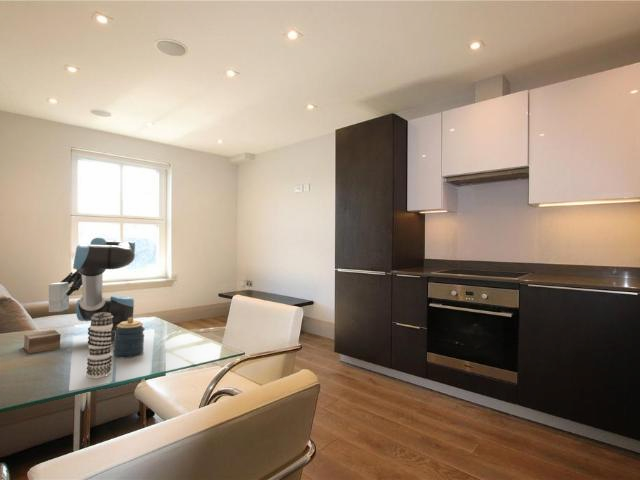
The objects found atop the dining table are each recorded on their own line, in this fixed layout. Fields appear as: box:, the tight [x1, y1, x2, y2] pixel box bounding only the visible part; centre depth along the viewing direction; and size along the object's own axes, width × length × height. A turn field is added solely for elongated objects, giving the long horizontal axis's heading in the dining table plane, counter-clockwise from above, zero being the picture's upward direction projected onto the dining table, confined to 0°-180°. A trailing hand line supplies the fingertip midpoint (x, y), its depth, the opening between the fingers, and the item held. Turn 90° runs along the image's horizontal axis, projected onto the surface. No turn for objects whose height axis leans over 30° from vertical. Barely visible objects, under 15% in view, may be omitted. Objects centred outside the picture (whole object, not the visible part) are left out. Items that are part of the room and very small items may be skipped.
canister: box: [112, 317, 145, 359], centre depth 165 cm, size 13×13×18 cm
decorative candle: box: [86, 312, 115, 379], centre depth 139 cm, size 9×9×25 cm
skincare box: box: [48, 282, 70, 313], centre depth 182 cm, size 8×6×15 cm
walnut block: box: [23, 329, 61, 354], centre depth 168 cm, size 12×12×7 cm
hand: (56, 299), depth 181 cm, fingers closed on skincare box, 9 cm apart
